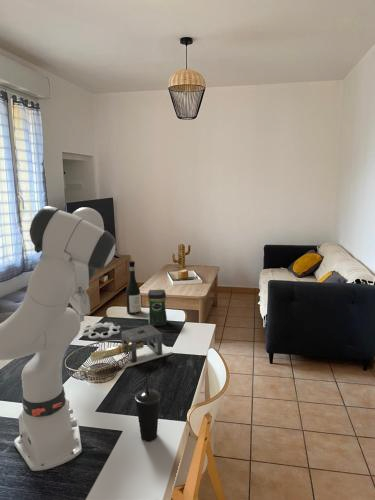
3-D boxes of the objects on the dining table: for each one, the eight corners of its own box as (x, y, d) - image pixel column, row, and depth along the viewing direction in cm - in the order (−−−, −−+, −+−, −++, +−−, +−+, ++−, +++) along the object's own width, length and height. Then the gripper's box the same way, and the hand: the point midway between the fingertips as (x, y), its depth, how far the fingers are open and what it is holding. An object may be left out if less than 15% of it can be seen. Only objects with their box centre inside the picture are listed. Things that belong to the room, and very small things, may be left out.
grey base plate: (160, 344, 176) (160, 342, 176) (172, 353, 167) (172, 351, 167) (111, 357, 164) (111, 355, 164) (121, 368, 155) (121, 366, 154)
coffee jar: (167, 320, 204) (166, 287, 200) (166, 326, 196) (165, 292, 192) (149, 320, 204) (148, 287, 200) (147, 326, 196) (146, 292, 192)
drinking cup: (140, 448, 110) (137, 386, 106) (133, 432, 117) (130, 373, 113) (165, 440, 113) (163, 380, 109) (156, 425, 120) (155, 367, 116)
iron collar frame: (151, 344, 173) (150, 324, 171) (162, 354, 164) (161, 333, 162) (122, 352, 166) (121, 331, 164) (132, 363, 157) (131, 340, 155)
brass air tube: (140, 346, 166) (139, 338, 165) (143, 349, 163) (143, 341, 162) (91, 359, 155) (90, 351, 154) (93, 363, 152) (93, 354, 151)
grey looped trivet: (95, 321, 205) (94, 318, 204) (127, 326, 199) (127, 322, 198) (73, 336, 186) (73, 332, 186) (108, 341, 180) (108, 337, 180)
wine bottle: (143, 312, 215) (141, 261, 209) (130, 316, 211) (128, 263, 205) (137, 308, 222) (135, 259, 216) (124, 311, 217) (122, 261, 211)
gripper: (93, 290, 137) (95, 325, 140) (77, 277, 154) (80, 309, 157) (75, 293, 134) (78, 329, 137) (61, 279, 151) (64, 312, 154)
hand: (79, 318), depth 147 cm, fingers open, 5 cm apart
